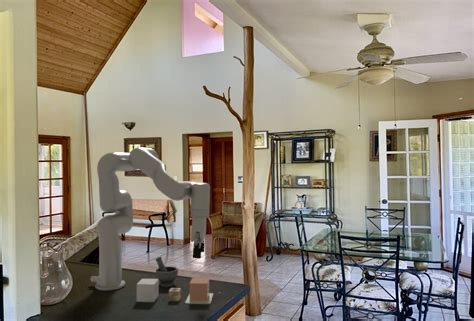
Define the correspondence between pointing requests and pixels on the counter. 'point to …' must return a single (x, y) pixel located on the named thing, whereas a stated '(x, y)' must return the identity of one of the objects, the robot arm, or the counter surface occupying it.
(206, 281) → the orange-brown cube
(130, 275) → the counter surface
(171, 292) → the tan plus cube
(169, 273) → the mortar and pestle
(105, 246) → the robot arm
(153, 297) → the white cube
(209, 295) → the sage pad
